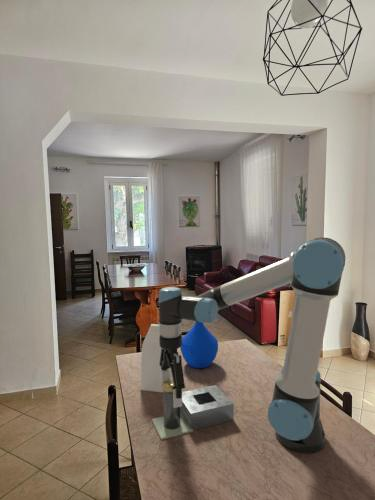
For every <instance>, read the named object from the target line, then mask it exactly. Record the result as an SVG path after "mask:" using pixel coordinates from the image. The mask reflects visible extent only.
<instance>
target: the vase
mask: <svg viewBox="0 0 375 500" xmlns="http://www.w3.org/2000/svg"><path fill="white" fill-rule="evenodd" d="M179 348H180V352H181V356H182V357H183V359H184V361H185V363H186V364H187V365H189V366H190V367H192V368H195V369H203V368H204V369H205V368H207V367H209V366H210V365H212V363H213V362H214V361H215V359H216V357H217V355H218V351H219V343H218V339H217V338H216V336H215V335H214V334H212V332H210V330H208V329H207V327H206V326H205V325H204V323H202V322H198V321H195V322H194V325H193V326H192V328H191V329H190V330H189V331H187V333H186V334H185V335H184V336H182V346H181V347H179Z"/></svg>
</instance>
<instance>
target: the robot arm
mask: <svg viewBox="0 0 375 500" xmlns="http://www.w3.org/2000/svg"><path fill="white" fill-rule="evenodd" d="M345 264H346V252H345V250H344V248H343V247H342V246H341V244H340V243H338V241H336V240H335V239H332V238H330V237H317V238H314V239H310V240H308V241H305V242H304V243H303V244H301V245H300V246H299V247H298V249H296V250H294V251H292V252H291V253H290V256H288V257H286V258H284V259H281V260H278V261H276V262H274V263H271V264H269V265H266V266H265V267H262V268H259V269H257V270H254V271H252V272H250V273H247V274H245V275H242V276H240V277H238V278H236V279H232V280H231V281H228V282H225V283H224V284H222V285H219V286H216V287H213V288H210V289H208V290H207V291H204V292H202V293H201V294H199V295H196V296H191V295H184V294H183V293H182V289H181V288H179V287H176V286H175V287H174V286H168V287H167V286H166V287H163V288H161V289H160V290H159V291H158V317H159V318H158V325H159V334H160V336H159V345H160V347H161V355H160V363H159V365H160V366H161V370H162V383H163V382H164V381H166V380H170V370H169V368H171V372H172V377H173V382H174V387H173V388H172V389H173V407H174V408H176V407H181V406H182V392H183V389H186V385H185V379H184V370H183V364H182V363H183V361H182V357H183V356H182V354H181V355H179V352H178V349H179V348H180V347H181V346H182V338H183V335H182V333H183V331H182V330H183V329H182V326H183V325H184V323H183V322H182V321H183V320H185V321H186V320H187V321H191V322H192V321H193V322H196V321H198V322H202V323H203V324H205V323H206V324H207V323H210V324H211V323H214V322H215V321H216V318H217V317H218V314H219V310H222V309H225V308H227V307H230V306H233V305H235V304H238V303H241V302H243V301H246V300H249V299H251V298H254V297H256V296H260V295H262V294H265V293H267V292H271V291H273V290H275V289H278V288H281V287H284V286H286V285H289V284H291V288H292V289H293V291H294V292H295V297H294V304H293V309H292V310H293V311H292V316H291V323H290V327H289V328H290V329H289V334H288V339H287V340H288V341H287V346H286V352H285V357H284V362H283V366H282V367H281V372H280V374H279V375H277V376H276V379H275V383H274V387H273V394H272V399H271V402H270V404H269V405H268V407H267V408H268V409H267V419H268V422H269V424H270V426H271V427H272V428H273V430H274V434H275V437H276V439H277V441H278V442H279V443H280V444H281V445H282V446H283V447H285V448H287V449H289V450H292V451H294V452H298V453H302V454H303V453H304V454H312V453H313V454H314V453H317V452H319V451H321V450H322V449H324V448H325V445H326V434H325V430H324V426H323V423H322V420H321V417H320V416H321V414H320V413H321V383H322V379H321V373H320V371H319V370H318V368H319V363H320V358H321V353H322V347H323V342H324V337H325V333H326V325H327V320H328V316H329V309H330V305H331V301H332V300H334V299H335V298H336V297H338V296H339V293H340V288H341V287H340V286H341V282H342V277H343V272H344V269H345ZM162 361H163V362H162ZM171 363H173V364H171ZM167 369H168V370H167Z"/></svg>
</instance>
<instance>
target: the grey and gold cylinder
mask: <svg viewBox="0 0 375 500" xmlns="http://www.w3.org/2000/svg"><path fill="white" fill-rule="evenodd" d="M173 387H174V382H173V379H171V380H166V381H164V382H163V383H162V390H163V392H162V393H163V394H162V395H163V397H162V399H163V401H162V402H163V416H164V427H165V428H167V429H176V428H178V427H179V426H180V407H176V408H174V407H173V389H172V388H173Z"/></svg>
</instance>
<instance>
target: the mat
mask: <svg viewBox="0 0 375 500" xmlns="http://www.w3.org/2000/svg"><path fill="white" fill-rule="evenodd" d="M151 421H152V424H153V426H154V428H155V430H156V433H157V434H158V436H159V439H160V440H161V441H162V440H166V439H169V438H174V437H177V436H181V435H186V434H188V433H189V434H190V433H193V432H194V430H193V429H191V428H190V427H189V425H188V424H187V422H186V421H185V419H184V417H183V416H182V414H181V413H180V426H179V427H178V428H176V429H167V428H165V427H164V415H163V416H162V415H161V416H159V417H155V418H152V419H151Z"/></svg>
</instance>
